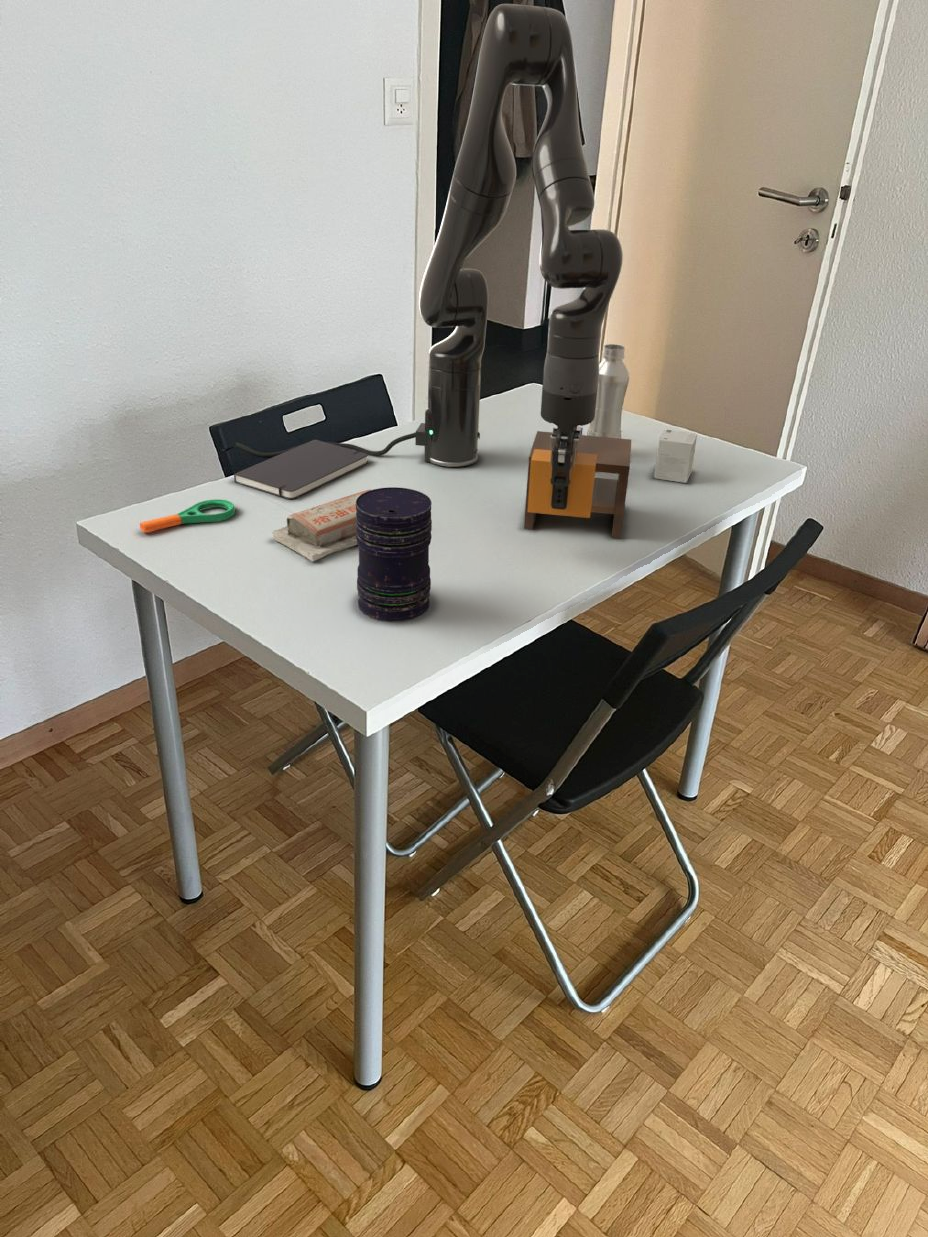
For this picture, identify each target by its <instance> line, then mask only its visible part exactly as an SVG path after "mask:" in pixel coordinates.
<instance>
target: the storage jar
mask: <svg viewBox="0 0 928 1237" xmlns="http://www.w3.org/2000/svg"><path fill="white" fill-rule="evenodd" d="M369 490H370V491H367V492H365V493H363V494H361V495H360V496H359V497H358V498H357V500H356V510H357V511H356V532H357V533H356V539H357V544H358V566H357V571H356V572H357V578H356V589H357V596H358V599H357V600H358V601H357V605H358V610H359V611H360V612H361V613H362V614H363V615H364V616H366V617H368V618H370V619H372V620H375V621H379V622H386V623H402V622H408V621H412V620H415V619H418V618H420V617H422V616H423V615H425V614H426V613H427V612H428V610H429V609H430V602H431V601H430V594H431V588H432V587H431V585H432V580H431V567H430V562H429V559H430V558H429V557H430V556H429V555H430V545H431V541H432V530H433V529H432V528H433V527H432V526H433V520H432V500H431V498H430V497H429V496H428V495H427V494H425V493H424V492H421V491H420V490H416V489H412V488H407V487H394V486H393V487H392V486H391V487H379V488H373V489H369Z"/></svg>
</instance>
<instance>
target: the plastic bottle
mask: <svg viewBox="0 0 928 1237" xmlns="http://www.w3.org/2000/svg"><path fill="white" fill-rule="evenodd" d="M625 351H626V350H625V346H624V345H621V344H614V343H611V344H610V343H609V344H608V343H607V344H604V346H603V352H602V358H603V359H602V360H601V362H599V379H598V389H597V399H596V409H595V418H594V420H593V421H592V422H591V423H589V427H588V429H587V432H586V435H587V436H598V437H609V438H620V439H622V413H623V406H624V402H625V397H626V394H627V390H628V386H629V383H630V372H629V370H628V368H627V366H626V364H625V362H623V360H624V359H625Z"/></svg>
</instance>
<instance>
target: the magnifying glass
mask: <svg viewBox="0 0 928 1237" xmlns="http://www.w3.org/2000/svg"><path fill="white" fill-rule="evenodd" d="M208 508H223V509H226V511H223V512H218V513H212V514H211V513H204V512H201V510H204V509H208ZM234 514H235V504H234V503H233V502H232V501H230V500H227V499H222V498H221V499H218V498H217V499H216V498H215V499H206V500H202V501H199V502H196V503H195V504H193V505H191V506H189V507H188V508H186V509H184V510H182V511H181V512H178V513H176V514H171V515H168V516H162V517H159V518H155V519H150V520H146V521H141V522H140V523H139V528H140V530H141V531H142V532H143V533H145V534H146V533H150V532H153V531H158V530H162V529H166V528H170V527H174V526H179V525H184V524H196V523H212V522H214V523H215V522H220V521H221V522H222V521H224V520H229V519H230V518H232V517H233V516H234Z"/></svg>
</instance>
